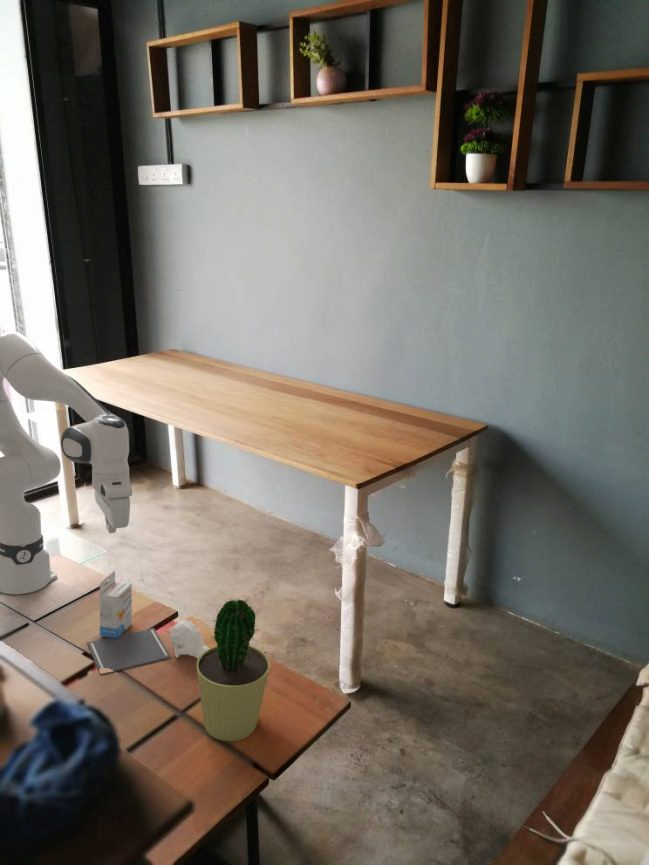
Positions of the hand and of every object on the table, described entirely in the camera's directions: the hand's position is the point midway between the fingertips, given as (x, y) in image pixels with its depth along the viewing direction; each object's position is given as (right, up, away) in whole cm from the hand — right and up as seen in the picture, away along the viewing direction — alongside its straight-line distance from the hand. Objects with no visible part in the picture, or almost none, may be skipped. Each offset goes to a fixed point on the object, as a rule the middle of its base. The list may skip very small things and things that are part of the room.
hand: (111, 530), depth 177 cm
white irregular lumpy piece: (+22, -31, -6) cm, 38 cm away
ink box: (+1, -26, +3) cm, 26 cm away
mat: (+6, -29, -5) cm, 30 cm away
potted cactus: (+34, -38, -28) cm, 58 cm away
